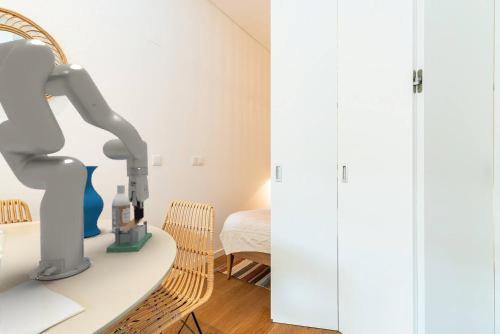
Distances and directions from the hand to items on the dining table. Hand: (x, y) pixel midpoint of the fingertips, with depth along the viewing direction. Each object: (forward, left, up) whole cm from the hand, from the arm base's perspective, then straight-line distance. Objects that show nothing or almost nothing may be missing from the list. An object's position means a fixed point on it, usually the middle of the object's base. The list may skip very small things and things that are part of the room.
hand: (139, 218), depth 95 cm
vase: (+6, +22, -8) cm, 25 cm away
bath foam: (+10, +10, -8) cm, 16 cm away
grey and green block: (-7, 0, -8) cm, 11 cm away
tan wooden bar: (-7, 0, -2) cm, 7 cm away
